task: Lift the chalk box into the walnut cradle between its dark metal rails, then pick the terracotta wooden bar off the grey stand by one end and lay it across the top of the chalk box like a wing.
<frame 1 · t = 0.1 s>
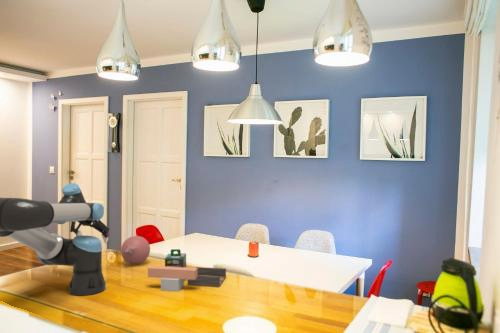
hand: (94, 240, 204), 15 cm above the kitchen counter, tool tilted 35°, fingers open, 13 cm apart
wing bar: (172, 277, 177), point 5 cm above the kitchen counter, touching wing stand
balloon: (133, 265, 215), on the kitchen counter
cradle: (207, 281, 187), on the kitchen counter
chalk box: (175, 279, 191), on the kitchen counter
wing stand: (172, 288, 178), on the kitchen counter
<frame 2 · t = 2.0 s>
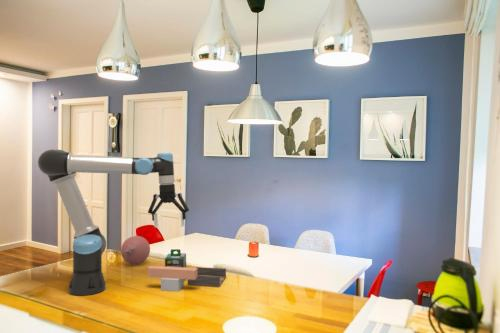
hand: (169, 226, 195), 25 cm above the kitchen counter, tool pointing down, fingers open, 13 cm apart
nothing on the kitchen counter moved.
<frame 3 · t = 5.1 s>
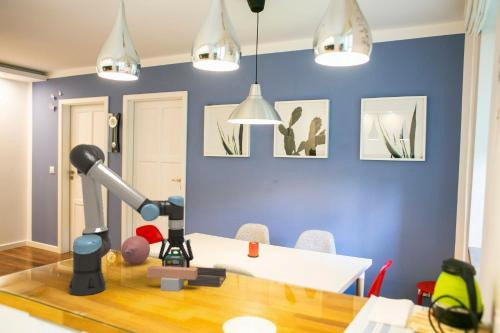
hand: (175, 273, 191), 2 cm above the kitchen counter, tool pointing down, fingers closed on chalk box, 10 cm apart
chalk box: (175, 279, 191), on the kitchen counter, touching gripper
everything else where it was.
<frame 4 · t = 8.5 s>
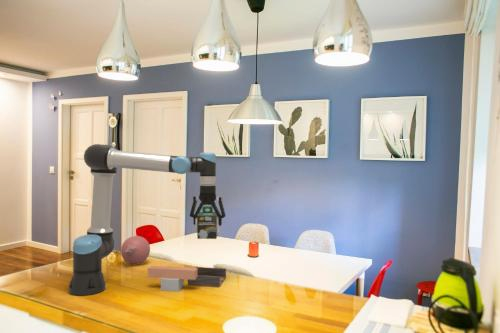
hand: (207, 232, 187), 24 cm above the kitchen counter, tool pointing down, fingers closed on chalk box, 10 cm apart
chalk box: (207, 237, 187), point 21 cm above the kitchen counter, touching gripper
everything else where it was.
when the fingers open (5 cm above the kitchen counter, at t = 11.9 s): chalk box drops 1 cm, resting on cradle.
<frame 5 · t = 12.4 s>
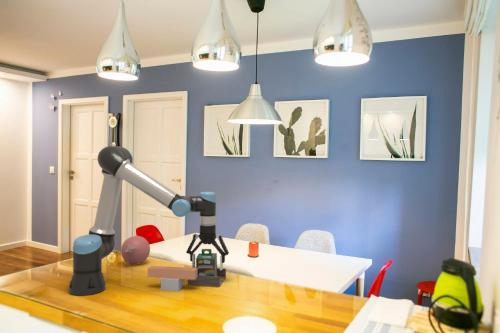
hand: (207, 268, 187), 6 cm above the kitchen counter, tool pointing down, fingers open, 13 cm apart
chalk box: (206, 279, 188), point 1 cm above the kitchen counter, touching cradle
everything else where it was.
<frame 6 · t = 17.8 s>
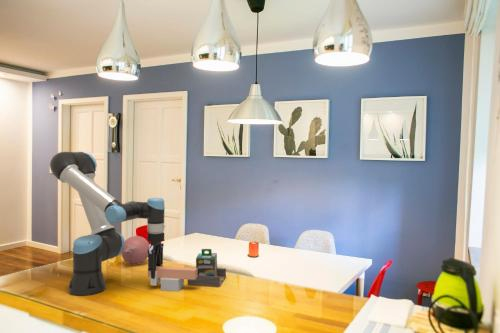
hand: (155, 283, 179), 2 cm above the kitchen counter, tool pointing down, fingers closed on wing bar, 4 cm apart
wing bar: (172, 277, 177), point 5 cm above the kitchen counter, touching gripper, wing stand
everything else where it was.
when the fingers open (14 cm above the kitchen counter, at t = 23.2 s): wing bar drops 2 cm and tips over, resting on chalk box.
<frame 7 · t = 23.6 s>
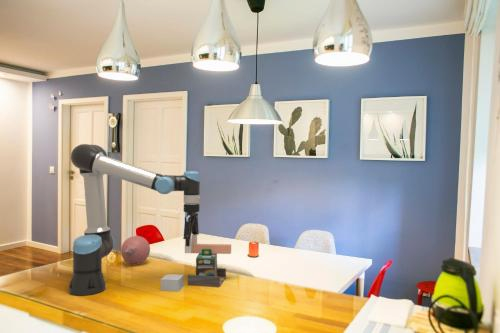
hand: (191, 250, 188), 15 cm above the kitchen counter, tool pointing down, fingers open, 9 cm apart
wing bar: (207, 249, 188), point 15 cm above the kitchen counter, tilted 94°, touching chalk box, gripper
chalk box: (206, 279, 188), point 1 cm above the kitchen counter, touching cradle, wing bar
everything else where it was.
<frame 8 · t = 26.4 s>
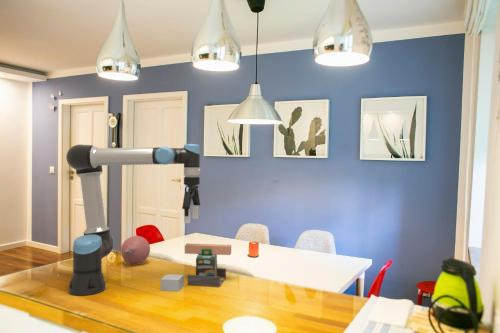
hand: (191, 220, 188), 29 cm above the kitchen counter, tool pointing down, fingers open, 13 cm apart
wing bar: (207, 250, 188), point 15 cm above the kitchen counter, tilted 90°, touching chalk box
everything else where it was.
at the end: chalk box 0.3 cm off-centre on the cradle, point 0.8 cm above the cradle's base; chalk box tilted 0°; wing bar inside the target area on the chalk box (0.4 cm from its centre), point 14.1 cm above the chalk box's base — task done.
